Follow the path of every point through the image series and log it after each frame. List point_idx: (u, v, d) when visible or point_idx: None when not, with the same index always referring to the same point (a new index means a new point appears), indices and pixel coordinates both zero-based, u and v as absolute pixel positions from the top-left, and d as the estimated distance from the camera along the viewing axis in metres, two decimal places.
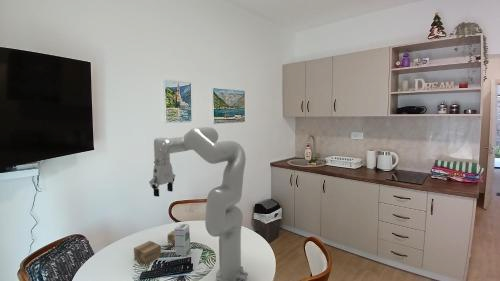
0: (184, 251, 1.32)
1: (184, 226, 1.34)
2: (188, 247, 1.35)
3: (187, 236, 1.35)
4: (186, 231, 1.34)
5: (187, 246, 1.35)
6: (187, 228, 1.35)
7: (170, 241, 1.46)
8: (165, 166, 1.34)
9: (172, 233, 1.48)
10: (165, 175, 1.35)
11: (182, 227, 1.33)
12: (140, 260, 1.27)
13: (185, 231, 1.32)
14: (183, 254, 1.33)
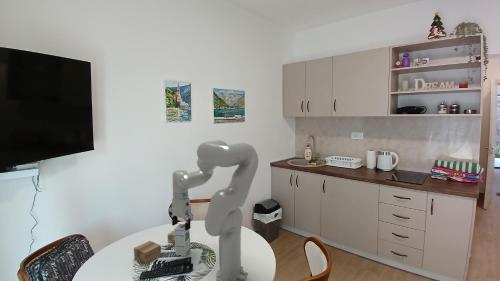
0: (184, 251, 1.32)
1: (184, 226, 1.34)
2: (188, 247, 1.35)
3: (187, 236, 1.35)
4: (186, 231, 1.34)
5: (187, 246, 1.35)
6: None
7: (170, 241, 1.46)
8: None
9: (172, 233, 1.48)
10: None
11: (182, 227, 1.33)
12: (140, 260, 1.27)
13: (185, 231, 1.32)
14: (183, 254, 1.33)
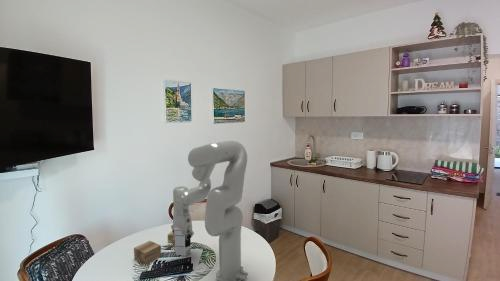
0: (184, 251, 1.32)
1: None
2: (188, 247, 1.35)
3: (187, 236, 1.35)
4: None
5: None
6: None
7: (170, 241, 1.46)
8: None
9: (172, 233, 1.48)
10: None
11: None
12: (140, 260, 1.27)
13: None
14: (183, 254, 1.33)
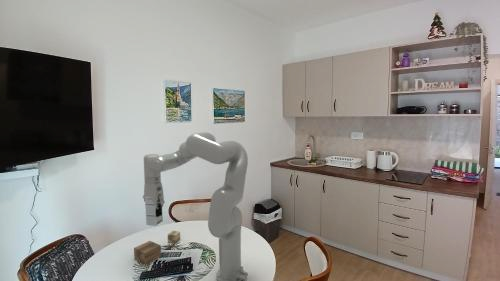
0: (155, 221, 1.27)
1: None
2: (159, 217, 1.30)
3: None
4: None
5: (159, 216, 1.30)
6: None
7: (170, 241, 1.46)
8: None
9: (172, 233, 1.48)
10: None
11: None
12: (140, 260, 1.27)
13: None
14: (154, 224, 1.28)
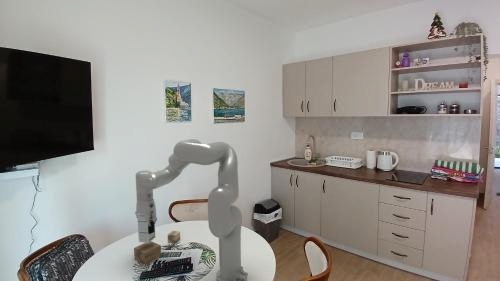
0: (147, 238, 1.27)
1: None
2: (152, 233, 1.30)
3: None
4: None
5: None
6: None
7: (170, 241, 1.46)
8: None
9: (172, 233, 1.48)
10: None
11: None
12: (140, 260, 1.27)
13: None
14: (146, 241, 1.27)
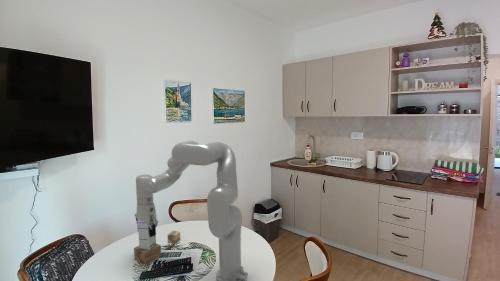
0: (148, 245, 1.27)
1: None
2: (152, 240, 1.30)
3: None
4: None
5: (152, 239, 1.30)
6: None
7: (170, 241, 1.46)
8: None
9: (172, 233, 1.48)
10: None
11: None
12: (140, 260, 1.27)
13: None
14: (147, 248, 1.27)
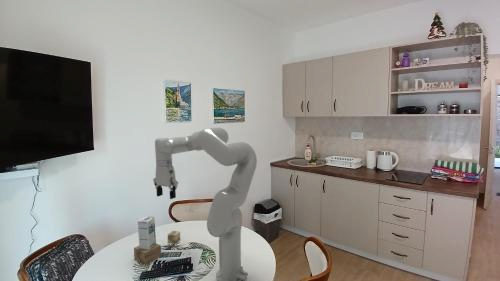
0: (148, 245, 1.27)
1: (148, 218, 1.29)
2: (152, 240, 1.30)
3: (152, 229, 1.29)
4: (151, 223, 1.29)
5: (152, 239, 1.30)
6: (152, 221, 1.29)
7: (170, 241, 1.46)
8: None
9: (172, 233, 1.48)
10: None
11: (146, 219, 1.28)
12: (140, 260, 1.27)
13: (148, 224, 1.27)
14: (147, 248, 1.28)
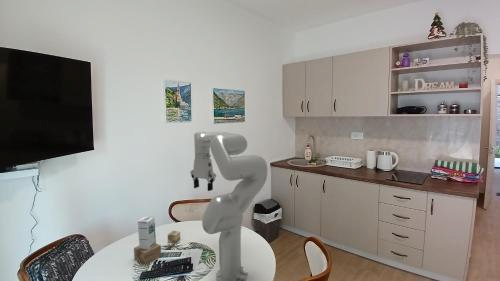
0: (148, 245, 1.27)
1: (148, 218, 1.29)
2: (152, 240, 1.30)
3: (152, 229, 1.29)
4: (151, 223, 1.29)
5: (152, 239, 1.30)
6: (152, 221, 1.29)
7: (170, 241, 1.46)
8: None
9: (172, 233, 1.48)
10: None
11: (146, 219, 1.28)
12: (140, 260, 1.27)
13: (148, 224, 1.27)
14: (147, 248, 1.28)
